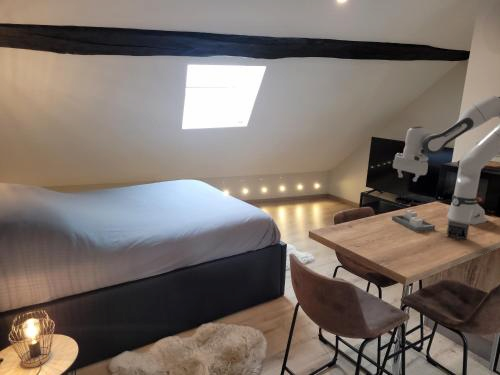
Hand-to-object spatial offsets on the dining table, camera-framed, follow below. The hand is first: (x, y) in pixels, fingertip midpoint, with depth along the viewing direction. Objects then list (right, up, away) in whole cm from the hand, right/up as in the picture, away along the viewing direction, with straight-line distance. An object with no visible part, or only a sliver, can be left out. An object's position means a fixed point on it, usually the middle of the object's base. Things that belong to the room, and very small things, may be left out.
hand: (407, 179), depth 207 cm
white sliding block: (-1, -26, -12) cm, 29 cm away
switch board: (0, -25, -6) cm, 26 cm away
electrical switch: (+15, -31, -23) cm, 41 cm away
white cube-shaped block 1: (+2, -23, 0) cm, 23 cm away
